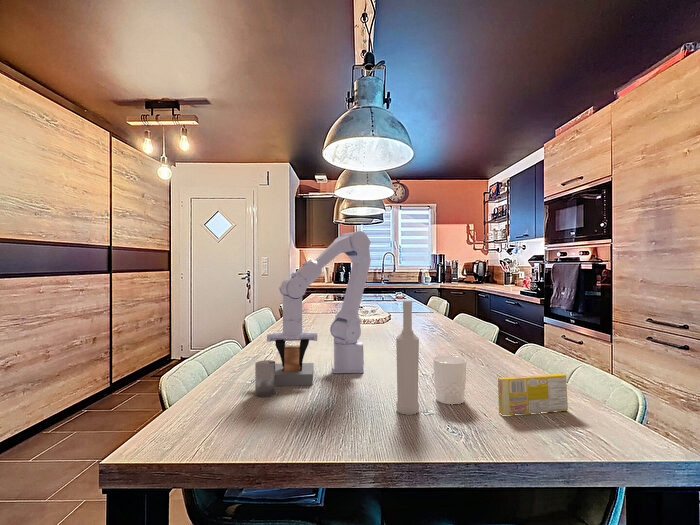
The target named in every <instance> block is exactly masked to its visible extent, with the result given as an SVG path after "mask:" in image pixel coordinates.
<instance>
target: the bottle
mask: <svg viewBox="0 0 700 525" xmlns="http://www.w3.org/2000/svg"><path fill="white" fill-rule="evenodd" d="M402 309H403V310H402V313H403V314H402V318H403V319H402V322H403V324H402V330H401V333H400V334H399V335H398V336H396V337H395V341H396V350H395V351H396V385H397V387H396V388H397V389H396V390H397V393H396V394H397V400H396V403H395V404H396V411H397V413H398V414H401V415H404V414H406V415H405V416H414V415H417V414H418V413H419V410H420V402H419V360H420V359H419V357H420V356H419V353H420V352H419V351H420V350H419V349H420V347H419V346H420V338H419V337H418V336H417V335H416V334H415V333H414V330H413V328H412V327H413V322H412V321H413V318H412V317H413V316H412V315H413V314H412V313H413V312H412V310H413V301H412V300H406V299H405V300H402ZM416 413H417V414H416ZM413 414H414V415H413Z"/></svg>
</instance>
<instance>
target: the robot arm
mask: <svg viewBox="0 0 700 525" xmlns="http://www.w3.org/2000/svg"><path fill="white" fill-rule="evenodd" d="M370 247H371V240H370V238H369V236H368V235H367V233H365V232H364V231H363V230H357V231H353V232H343V233H342V234H341V235H339V237H337V238H334V240H333V241H332V242H331V244H329V245H328V246H327V248H326V249H324V251H322V253H320V255H318V256H317V257H316V258H315V260H312V259H311V260H308V261H303V262H302V263H301V265H302V266H301V267H299V269H297V270H296V271H295V272H292V273H291V274H290V277H287V278H285V279H284V280H282V282H281V284H280V287H279V288H278V290H279V293H280V294H281V296H282V332H280V333H279V332H278V333H267V335H266V342H269V343H270V342H275V348H276V349H277V351H278V354H279V357H280V360H281V364H282V367H284V349H285V347H286V342H291V341H293V342H295V341H297V342H298V341H300V342H299V345H300V363H299V364H300V366H302V363H304V362H303V360H304V357H305V353H306V351H307V348H308V346H309V343H310V341H314V342H317V341H318V333H316V332H315V333H314V332H303V296H304V295H305V294H306V291H307V289H308V288H309V287H310V285H312V284H313V283H314V282H315V281H316V280H318V278H319V277H320V276H322V274H323V272H322V271H323V268H324V267H326V266H327V265H328V264H329V263H330V262H331V261H333V260H334V259H335V258H337V256H339V255H340V254H345V255H346V256H347V257H348V258H349V259H350V261H351V262H352V266H351V270H350V275H349V279H348V282H347V285H346V286H347V287H346V290H345V293H344V298H343V302H342V307H341V309H340V310H339V311H338V313H337V314H336V315H335V318H334V320H333V321H332V322H331V325H330V327H329V331H330V334H331V336H332V337H333V364H332V373H333V374H361V373H362V374H363V373H364V372H365V370H364V367H365V360H364V359H365V357H364V344H363V341H359V340H360V337H361V336H362V335H361V333H362V329H361V324H362V320H361V318H360V316H359V310H360V306H361V303H362V297H363V294H364V290H365V286H366V281H367V277H368V273H369V270H370V266H371V262H372V261H371V260H372V259H371V253H370Z"/></svg>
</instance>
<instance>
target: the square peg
mask: <svg viewBox="0 0 700 525" xmlns="http://www.w3.org/2000/svg"><path fill="white" fill-rule="evenodd" d="M299 363H300V344H299V345H285V349H284V372H288V371H300V364H299Z"/></svg>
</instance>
